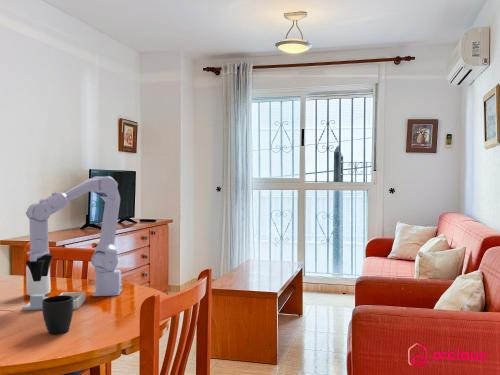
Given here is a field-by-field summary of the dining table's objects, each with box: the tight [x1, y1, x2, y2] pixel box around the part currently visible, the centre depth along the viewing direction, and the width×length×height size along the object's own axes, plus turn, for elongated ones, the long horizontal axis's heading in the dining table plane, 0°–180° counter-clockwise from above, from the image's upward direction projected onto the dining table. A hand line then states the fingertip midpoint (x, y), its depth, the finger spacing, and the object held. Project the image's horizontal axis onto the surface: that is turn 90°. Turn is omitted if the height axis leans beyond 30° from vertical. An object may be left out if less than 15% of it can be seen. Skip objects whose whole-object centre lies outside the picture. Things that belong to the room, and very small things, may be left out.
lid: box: [22, 294, 49, 311], centre depth 165 cm, size 9×13×4 cm
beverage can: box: [25, 265, 51, 297], centre depth 180 cm, size 8×8×12 cm
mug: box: [41, 294, 74, 336], centre depth 139 cm, size 8×12×10 cm
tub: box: [58, 291, 86, 311], centre depth 165 cm, size 8×12×3 cm, turn 6°
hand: (40, 278), depth 162 cm, fingers open, 7 cm apart
